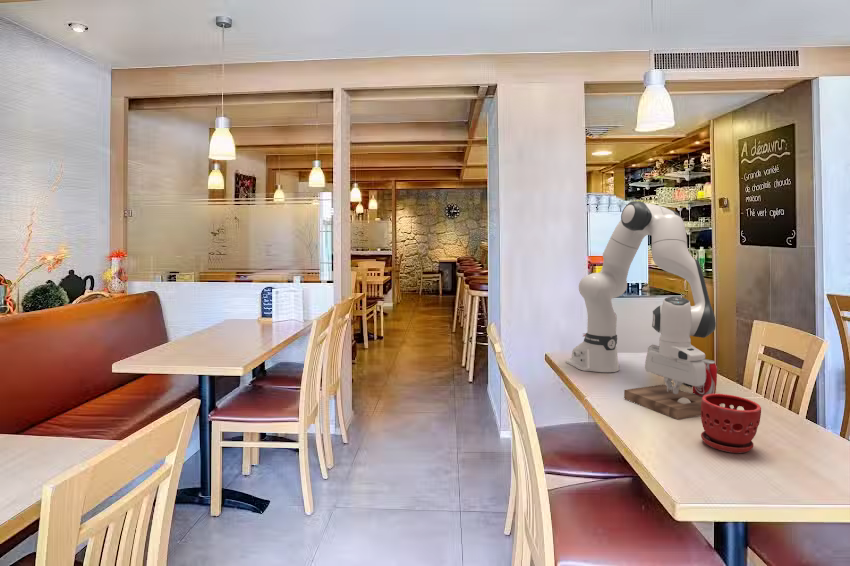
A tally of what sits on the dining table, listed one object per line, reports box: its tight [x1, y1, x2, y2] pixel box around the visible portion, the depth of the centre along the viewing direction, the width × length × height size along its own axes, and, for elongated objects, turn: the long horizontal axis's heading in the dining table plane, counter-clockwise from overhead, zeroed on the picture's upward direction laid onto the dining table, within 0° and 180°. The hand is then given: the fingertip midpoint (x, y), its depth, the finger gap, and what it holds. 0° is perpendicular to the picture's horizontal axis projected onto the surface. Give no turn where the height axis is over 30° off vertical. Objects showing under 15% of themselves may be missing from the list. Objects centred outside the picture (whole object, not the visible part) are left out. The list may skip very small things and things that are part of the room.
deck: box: [623, 384, 702, 420], centre depth 166 cm, size 21×17×3 cm
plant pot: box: [700, 393, 762, 454], centre depth 133 cm, size 13×13×12 cm
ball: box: [677, 398, 691, 404], centre depth 160 cm, size 4×4×4 cm
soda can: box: [691, 358, 718, 397], centre depth 175 cm, size 7×7×12 cm
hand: (672, 392), depth 164 cm, fingers closed
